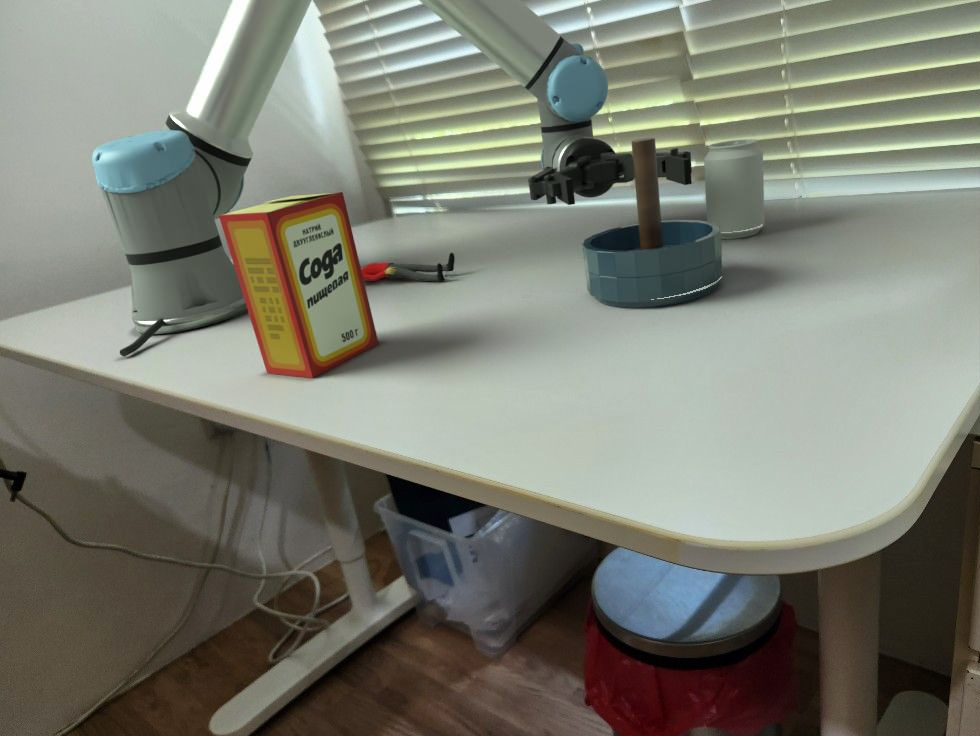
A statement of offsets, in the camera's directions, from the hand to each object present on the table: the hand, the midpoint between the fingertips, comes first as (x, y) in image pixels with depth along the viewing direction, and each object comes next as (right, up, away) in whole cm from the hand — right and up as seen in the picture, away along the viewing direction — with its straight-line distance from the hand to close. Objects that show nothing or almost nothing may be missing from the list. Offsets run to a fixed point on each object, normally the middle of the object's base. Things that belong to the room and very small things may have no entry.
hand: (629, 182), depth 83 cm
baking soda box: (-32, -20, -6) cm, 38 cm away
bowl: (+3, -12, 0) cm, 12 cm away
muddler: (+3, -11, -1) cm, 12 cm away
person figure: (-30, -7, +22) cm, 38 cm away
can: (+17, -2, +19) cm, 25 cm away
